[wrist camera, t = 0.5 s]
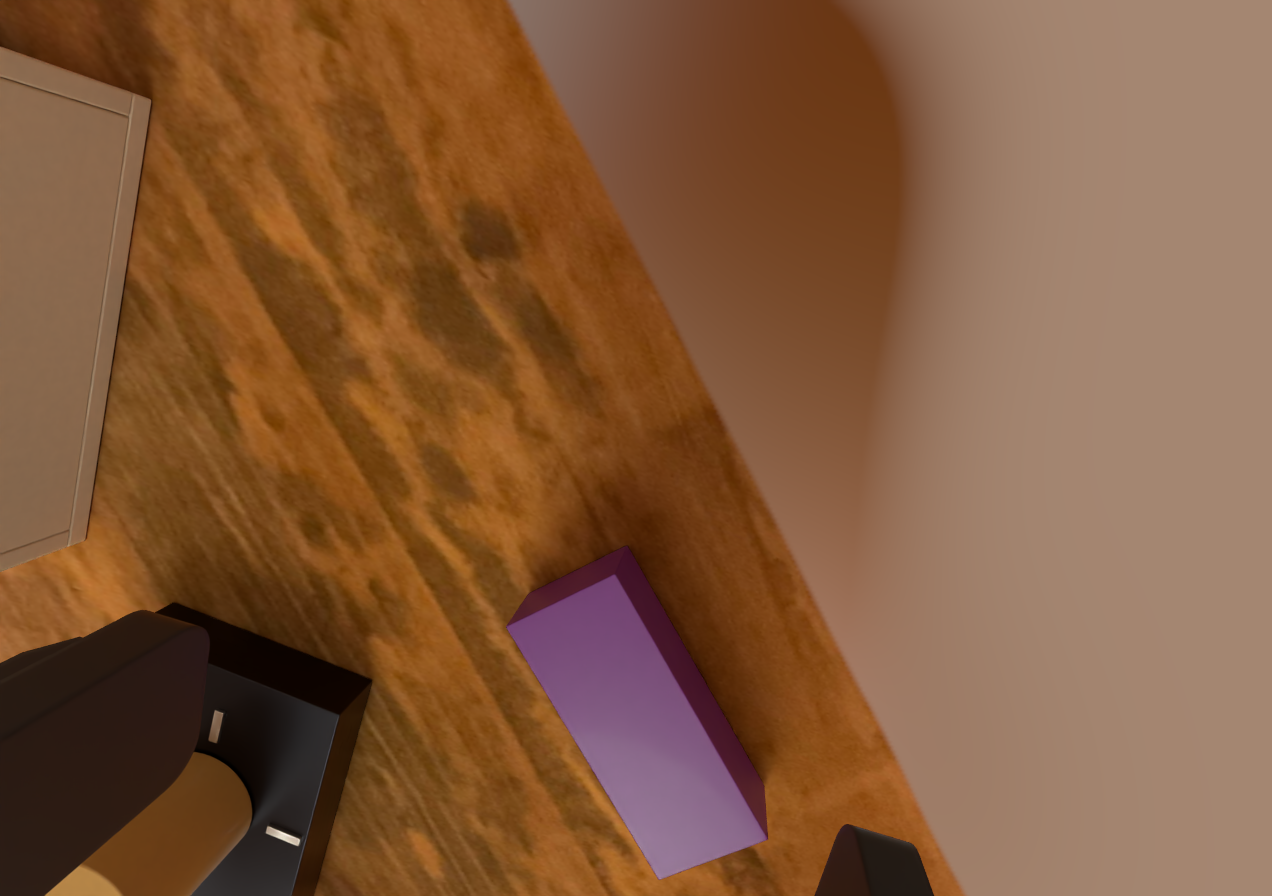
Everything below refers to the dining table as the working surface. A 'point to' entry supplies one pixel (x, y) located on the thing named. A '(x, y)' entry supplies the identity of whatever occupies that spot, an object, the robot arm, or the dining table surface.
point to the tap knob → (170, 838)
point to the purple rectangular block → (641, 714)
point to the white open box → (59, 289)
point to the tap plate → (276, 753)
